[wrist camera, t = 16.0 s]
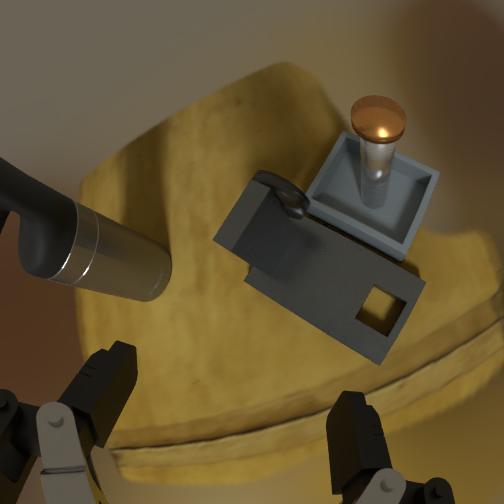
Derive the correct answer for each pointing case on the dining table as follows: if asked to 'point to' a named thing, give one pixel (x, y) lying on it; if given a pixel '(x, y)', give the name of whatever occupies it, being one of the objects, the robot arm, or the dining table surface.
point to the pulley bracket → (313, 265)
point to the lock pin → (377, 144)
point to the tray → (356, 213)
